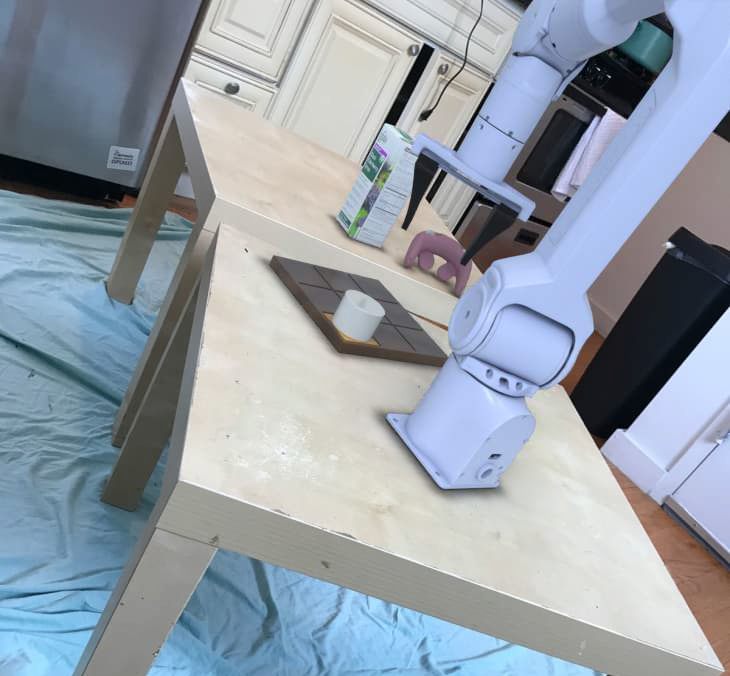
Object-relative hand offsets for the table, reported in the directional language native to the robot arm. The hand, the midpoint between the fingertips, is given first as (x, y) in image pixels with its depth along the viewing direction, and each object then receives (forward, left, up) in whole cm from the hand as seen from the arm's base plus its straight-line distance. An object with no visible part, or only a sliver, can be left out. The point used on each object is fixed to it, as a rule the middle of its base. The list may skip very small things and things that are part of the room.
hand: (433, 245), depth 84 cm
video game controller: (+14, -18, -10) cm, 25 cm away
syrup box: (+22, -9, -10) cm, 26 cm away
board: (-2, +7, -9) cm, 12 cm away
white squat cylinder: (-7, +12, -8) cm, 16 cm away
